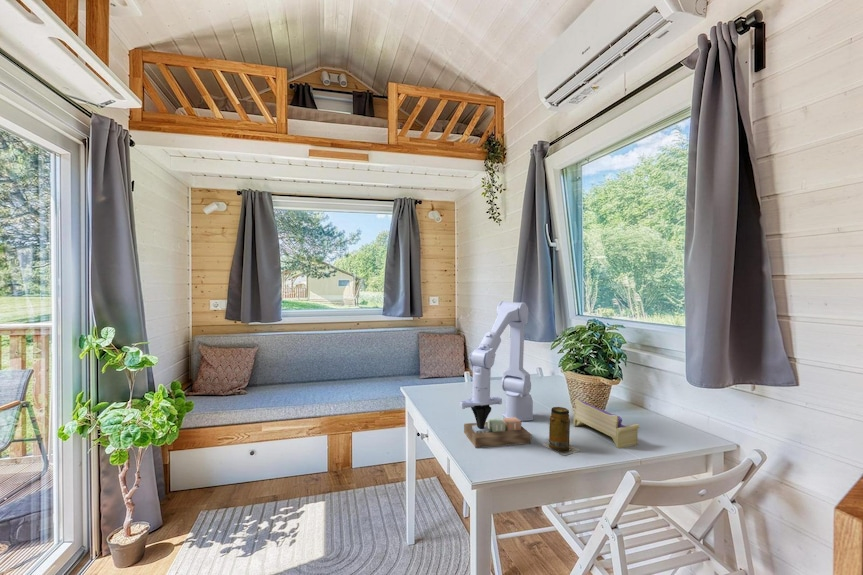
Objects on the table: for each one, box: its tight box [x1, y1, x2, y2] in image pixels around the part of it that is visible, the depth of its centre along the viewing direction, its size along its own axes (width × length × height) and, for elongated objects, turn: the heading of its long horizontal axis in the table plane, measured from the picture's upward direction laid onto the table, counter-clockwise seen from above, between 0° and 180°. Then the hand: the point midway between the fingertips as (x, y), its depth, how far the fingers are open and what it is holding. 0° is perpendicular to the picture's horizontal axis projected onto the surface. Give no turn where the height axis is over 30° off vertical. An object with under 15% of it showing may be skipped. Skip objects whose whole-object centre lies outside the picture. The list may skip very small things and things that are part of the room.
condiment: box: [543, 406, 581, 456], centre depth 124 cm, size 7×8×12 cm
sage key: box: [487, 417, 506, 432], centre depth 131 cm, size 4×4×3 cm
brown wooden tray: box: [463, 421, 532, 449], centre depth 131 cm, size 18×12×3 cm, turn 102°
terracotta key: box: [502, 417, 522, 431], centre depth 132 cm, size 4×4×3 cm
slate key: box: [472, 425, 489, 433], centre depth 130 cm, size 4×4×3 cm
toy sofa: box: [572, 398, 640, 449], centre depth 135 cm, size 21×9×10 cm, turn 23°
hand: (480, 427), depth 129 cm, fingers closed, pressing on slate key
